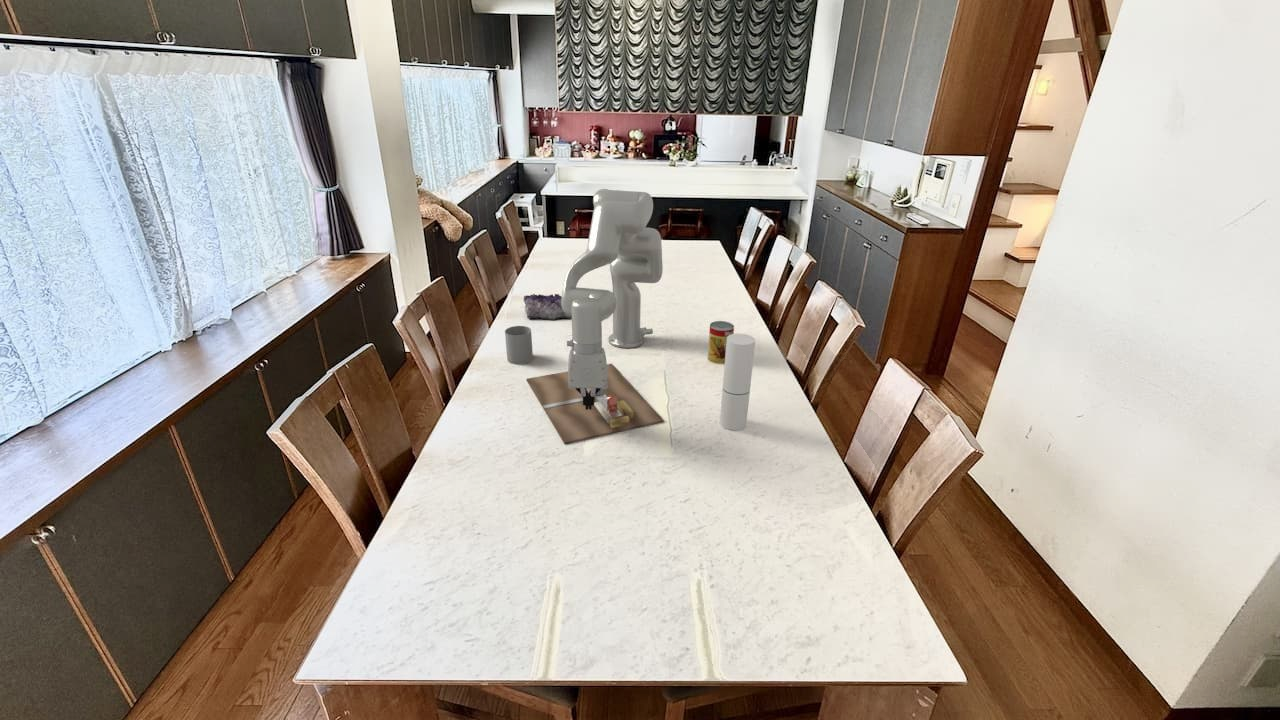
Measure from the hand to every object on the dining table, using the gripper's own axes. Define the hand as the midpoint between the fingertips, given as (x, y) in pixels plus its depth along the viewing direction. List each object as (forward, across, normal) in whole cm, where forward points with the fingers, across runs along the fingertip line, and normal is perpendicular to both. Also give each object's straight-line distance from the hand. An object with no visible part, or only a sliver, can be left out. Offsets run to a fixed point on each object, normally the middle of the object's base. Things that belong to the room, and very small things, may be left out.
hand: (588, 407), depth 162 cm
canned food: (+4, +42, +38) cm, 56 cm away
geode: (+4, -19, +77) cm, 79 cm away
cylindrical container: (+4, +39, -3) cm, 39 cm away
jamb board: (+4, 0, +10) cm, 11 cm away
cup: (+4, -24, +38) cm, 45 cm away
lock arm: (+3, +4, +5) cm, 7 cm away
